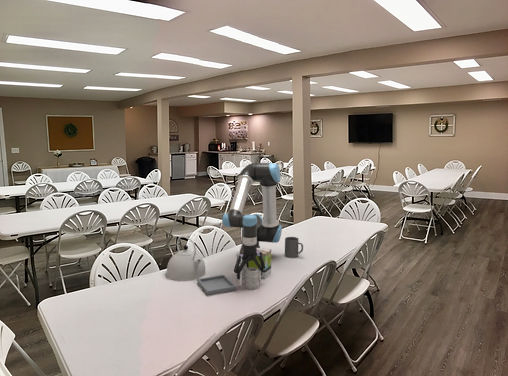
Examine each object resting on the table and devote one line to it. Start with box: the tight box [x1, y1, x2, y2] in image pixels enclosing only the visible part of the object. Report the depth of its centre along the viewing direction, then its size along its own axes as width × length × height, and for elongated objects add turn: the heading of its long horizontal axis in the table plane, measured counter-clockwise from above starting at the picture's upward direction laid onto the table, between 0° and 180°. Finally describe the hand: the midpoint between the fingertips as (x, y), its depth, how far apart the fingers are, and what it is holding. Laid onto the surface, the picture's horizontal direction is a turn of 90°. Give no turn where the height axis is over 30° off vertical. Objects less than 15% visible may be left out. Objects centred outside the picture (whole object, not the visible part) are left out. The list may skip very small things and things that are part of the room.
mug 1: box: [241, 264, 260, 290], centre depth 208 cm, size 8×12×12 cm, turn 45°
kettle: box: [166, 235, 207, 282], centre depth 223 cm, size 25×23×22 cm
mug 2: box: [284, 236, 304, 259], centre depth 257 cm, size 14×9×12 cm
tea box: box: [241, 247, 272, 279], centre depth 225 cm, size 15×10×15 cm, turn 65°
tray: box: [196, 274, 238, 297], centre depth 206 cm, size 18×16×2 cm
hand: (249, 283), depth 208 cm, fingers open, 11 cm apart
